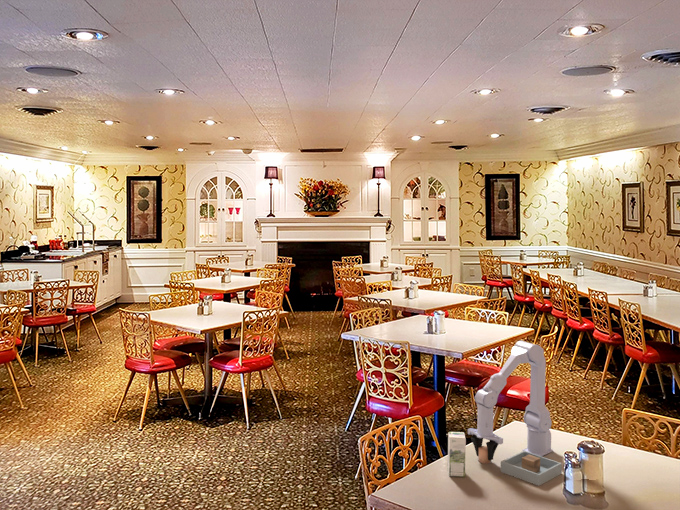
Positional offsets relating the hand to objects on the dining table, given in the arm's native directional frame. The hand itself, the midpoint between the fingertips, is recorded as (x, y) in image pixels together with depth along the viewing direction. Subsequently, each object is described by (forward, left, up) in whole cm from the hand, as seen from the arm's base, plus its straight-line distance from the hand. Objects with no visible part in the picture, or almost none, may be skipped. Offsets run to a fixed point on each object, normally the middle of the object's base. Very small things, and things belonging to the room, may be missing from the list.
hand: (484, 457), depth 226 cm
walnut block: (-4, +17, -1) cm, 17 cm away
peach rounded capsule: (0, 0, -1) cm, 1 cm away
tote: (-4, +17, -1) cm, 18 cm away
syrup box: (+17, 0, -2) cm, 17 cm away
